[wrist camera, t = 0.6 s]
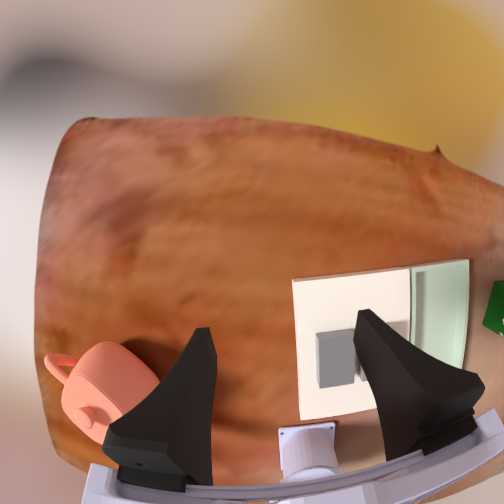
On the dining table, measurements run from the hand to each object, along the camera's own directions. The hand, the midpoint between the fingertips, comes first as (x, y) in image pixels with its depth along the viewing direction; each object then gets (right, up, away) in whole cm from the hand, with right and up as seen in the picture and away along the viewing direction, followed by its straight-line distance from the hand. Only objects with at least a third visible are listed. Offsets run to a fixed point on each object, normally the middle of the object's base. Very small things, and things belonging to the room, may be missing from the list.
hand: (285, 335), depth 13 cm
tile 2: (+8, -8, +17) cm, 20 cm away
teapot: (-19, -15, +22) cm, 33 cm away
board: (+11, -8, +20) cm, 24 cm away
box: (+23, -6, +19) cm, 31 cm away
